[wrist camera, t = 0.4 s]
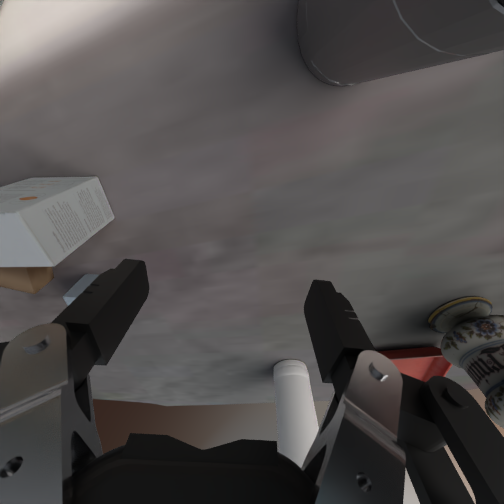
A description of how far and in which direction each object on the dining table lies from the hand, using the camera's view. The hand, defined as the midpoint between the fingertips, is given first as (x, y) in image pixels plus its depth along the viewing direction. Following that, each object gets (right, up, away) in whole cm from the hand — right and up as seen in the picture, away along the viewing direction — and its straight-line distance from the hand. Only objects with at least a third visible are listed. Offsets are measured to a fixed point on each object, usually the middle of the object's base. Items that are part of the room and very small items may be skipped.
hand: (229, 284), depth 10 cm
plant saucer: (+34, -25, +39) cm, 57 cm away
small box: (-21, +8, +16) cm, 28 cm away
